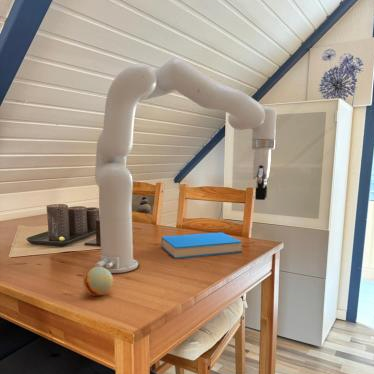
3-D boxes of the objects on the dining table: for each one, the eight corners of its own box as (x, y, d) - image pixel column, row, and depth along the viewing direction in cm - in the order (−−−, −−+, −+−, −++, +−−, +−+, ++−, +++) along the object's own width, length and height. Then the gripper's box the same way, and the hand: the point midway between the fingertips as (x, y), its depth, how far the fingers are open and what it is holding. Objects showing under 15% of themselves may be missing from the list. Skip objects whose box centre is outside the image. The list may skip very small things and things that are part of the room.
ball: (118, 294, 86) (118, 267, 85) (93, 303, 81) (92, 274, 80) (103, 287, 91) (102, 261, 89) (78, 294, 86) (77, 267, 85)
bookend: (105, 246, 132) (104, 220, 130) (84, 244, 134) (83, 219, 132) (122, 238, 145) (122, 214, 143) (103, 237, 147) (102, 213, 146)
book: (242, 241, 124) (175, 246, 115) (241, 253, 125) (175, 259, 116) (221, 231, 140) (160, 235, 131) (220, 242, 141) (160, 246, 132)
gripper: (254, 146, 127) (252, 195, 130) (248, 144, 111) (247, 201, 114) (275, 146, 125) (273, 196, 128) (273, 144, 109) (270, 202, 112)
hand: (261, 198), depth 121 cm, fingers open, 5 cm apart
